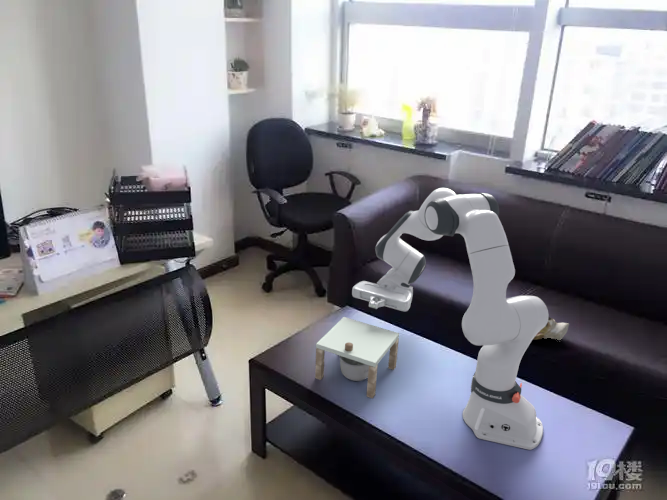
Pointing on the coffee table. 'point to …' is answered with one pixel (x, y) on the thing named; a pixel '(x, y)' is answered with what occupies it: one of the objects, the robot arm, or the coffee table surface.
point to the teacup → (353, 369)
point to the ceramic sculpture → (552, 330)
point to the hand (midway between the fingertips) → (372, 305)
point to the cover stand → (371, 372)
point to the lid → (358, 341)
